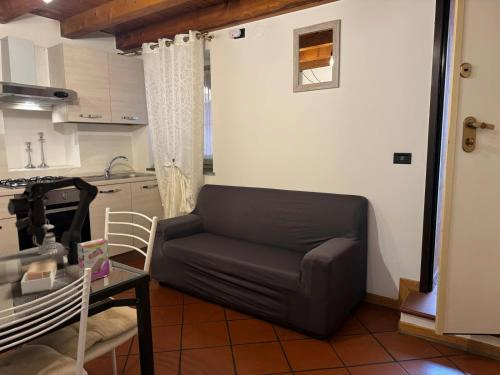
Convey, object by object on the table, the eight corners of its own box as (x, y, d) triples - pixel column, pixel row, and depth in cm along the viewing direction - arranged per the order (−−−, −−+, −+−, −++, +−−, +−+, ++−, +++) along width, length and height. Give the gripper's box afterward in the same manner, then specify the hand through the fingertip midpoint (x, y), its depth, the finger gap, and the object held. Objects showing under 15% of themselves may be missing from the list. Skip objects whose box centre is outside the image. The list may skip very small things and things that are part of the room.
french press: (62, 250, 186) (58, 205, 182) (41, 257, 176) (36, 209, 172) (50, 248, 190) (46, 204, 187) (29, 254, 180) (24, 208, 176)
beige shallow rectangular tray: (57, 267, 161) (56, 259, 161) (54, 279, 147) (53, 270, 147) (32, 270, 157) (31, 262, 157) (26, 283, 143) (25, 274, 142)
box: (54, 279, 147) (53, 268, 146) (51, 289, 137) (50, 277, 137) (26, 284, 143) (25, 272, 142) (22, 294, 133) (20, 282, 132)
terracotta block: (42, 270, 143) (41, 272, 141) (43, 281, 144) (42, 284, 141) (28, 272, 141) (27, 274, 139) (30, 283, 142) (28, 286, 140)
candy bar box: (85, 284, 142) (81, 246, 139) (79, 281, 145) (76, 243, 143) (110, 275, 150) (107, 239, 148) (104, 273, 153) (102, 237, 151)
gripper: (19, 208, 156) (23, 242, 158) (11, 216, 139) (15, 253, 141) (47, 206, 161) (50, 238, 163) (42, 214, 144) (46, 249, 146)
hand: (40, 245), depth 153 cm, fingers closed
